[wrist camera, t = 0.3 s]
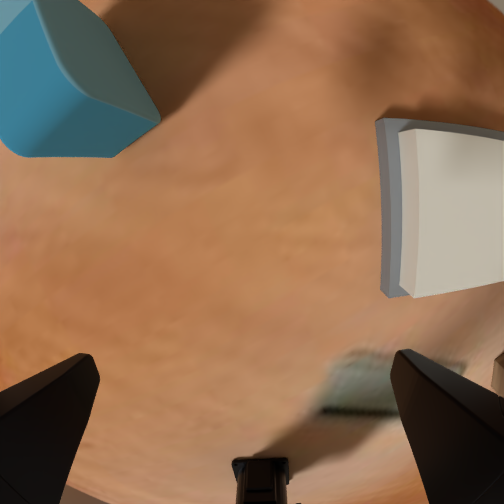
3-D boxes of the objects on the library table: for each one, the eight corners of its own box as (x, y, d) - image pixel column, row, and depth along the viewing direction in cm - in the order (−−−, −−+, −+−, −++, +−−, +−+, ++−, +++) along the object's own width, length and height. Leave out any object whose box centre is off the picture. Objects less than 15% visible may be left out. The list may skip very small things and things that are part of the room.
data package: (66, 55, 18) (-28, 16, 6) (106, 22, 17) (24, -41, 5) (119, 159, 20) (4, 161, 9) (167, 124, 20) (74, 85, 8)
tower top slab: (497, 269, 20) (514, 278, 17) (399, 285, 20) (414, 298, 18) (501, 144, 17) (520, 144, 15) (398, 132, 18) (415, 128, 15)
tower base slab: (488, 268, 22) (503, 276, 20) (377, 286, 23) (388, 298, 21) (490, 133, 19) (506, 132, 17) (371, 122, 20) (384, 117, 17)
